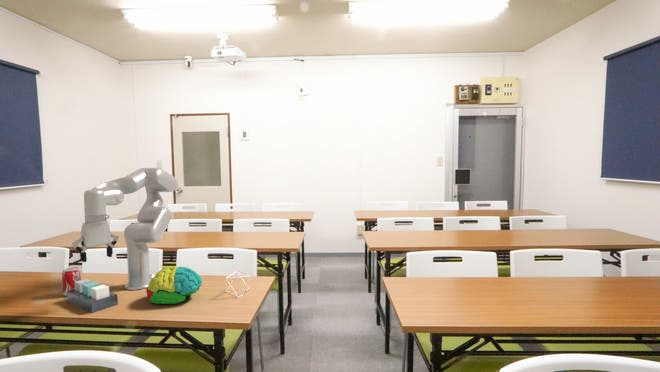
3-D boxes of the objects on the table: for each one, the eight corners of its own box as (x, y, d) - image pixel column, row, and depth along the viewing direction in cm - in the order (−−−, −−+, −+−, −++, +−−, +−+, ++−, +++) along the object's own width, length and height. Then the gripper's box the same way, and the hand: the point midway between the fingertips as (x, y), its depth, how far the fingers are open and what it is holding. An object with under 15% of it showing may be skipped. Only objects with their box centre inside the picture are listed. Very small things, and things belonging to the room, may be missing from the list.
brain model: (209, 291, 164) (207, 260, 164) (191, 307, 145) (188, 272, 145) (162, 292, 166) (159, 262, 165) (137, 309, 147) (134, 274, 146)
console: (92, 294, 162) (92, 284, 162) (117, 304, 150) (117, 294, 149) (67, 301, 153) (66, 291, 153) (92, 313, 141) (91, 302, 141)
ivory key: (103, 295, 151) (103, 284, 151) (109, 298, 148) (109, 286, 148) (90, 299, 147) (90, 288, 146) (96, 302, 144) (96, 290, 144)
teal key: (95, 292, 155) (95, 281, 154) (100, 294, 152) (100, 283, 152) (82, 296, 151) (82, 284, 150) (88, 298, 148) (87, 286, 148)
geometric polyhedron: (220, 296, 159) (219, 277, 158) (232, 288, 169) (231, 270, 169) (244, 299, 156) (244, 279, 155) (255, 290, 166) (255, 272, 166)
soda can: (71, 297, 158) (69, 271, 157) (58, 296, 159) (57, 270, 159) (84, 292, 165) (83, 267, 164) (72, 290, 166) (71, 266, 166)
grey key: (87, 289, 159) (87, 278, 158) (92, 291, 156) (92, 280, 156) (75, 292, 155) (74, 281, 154) (80, 294, 152) (79, 283, 152)
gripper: (113, 216, 155) (114, 253, 156) (67, 220, 140) (69, 262, 141) (121, 217, 151) (122, 256, 151) (75, 222, 136) (77, 265, 137)
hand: (97, 259), depth 146 cm, fingers open, 9 cm apart
